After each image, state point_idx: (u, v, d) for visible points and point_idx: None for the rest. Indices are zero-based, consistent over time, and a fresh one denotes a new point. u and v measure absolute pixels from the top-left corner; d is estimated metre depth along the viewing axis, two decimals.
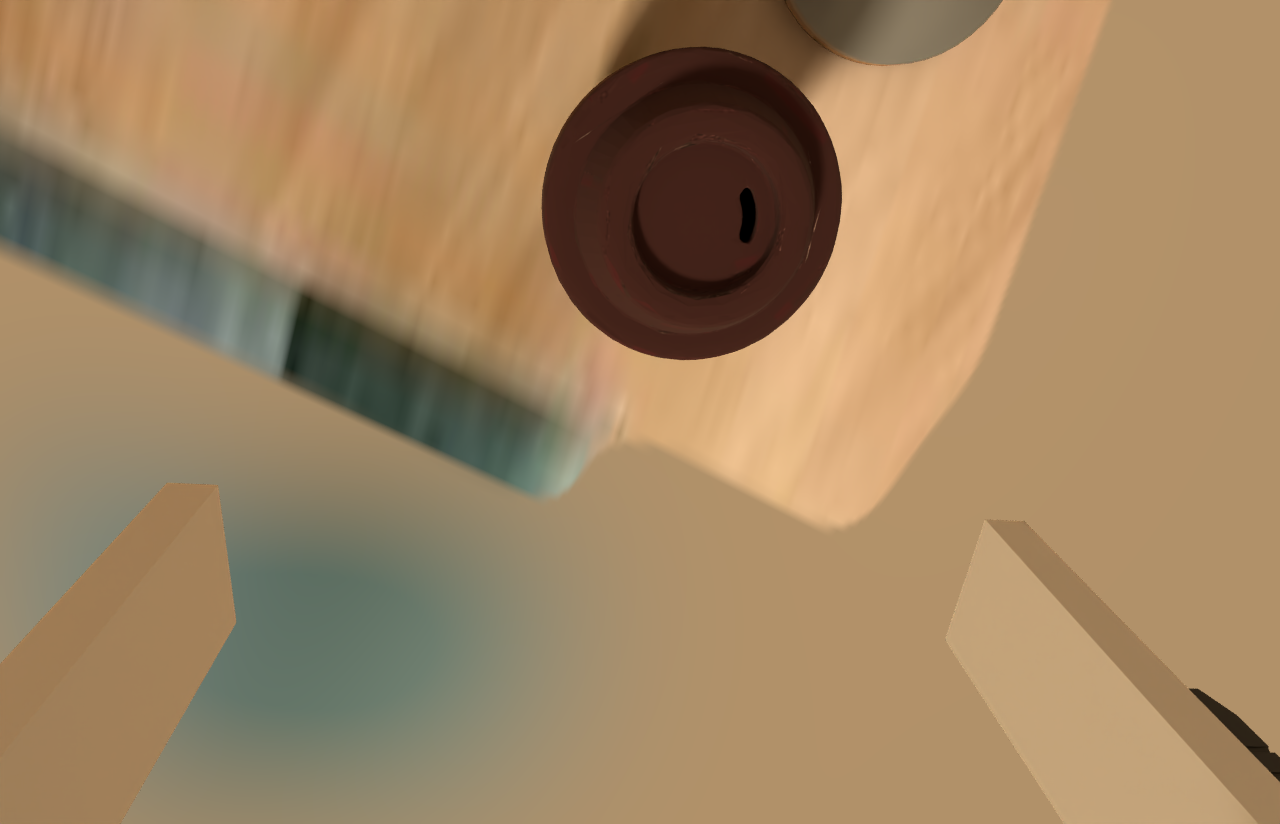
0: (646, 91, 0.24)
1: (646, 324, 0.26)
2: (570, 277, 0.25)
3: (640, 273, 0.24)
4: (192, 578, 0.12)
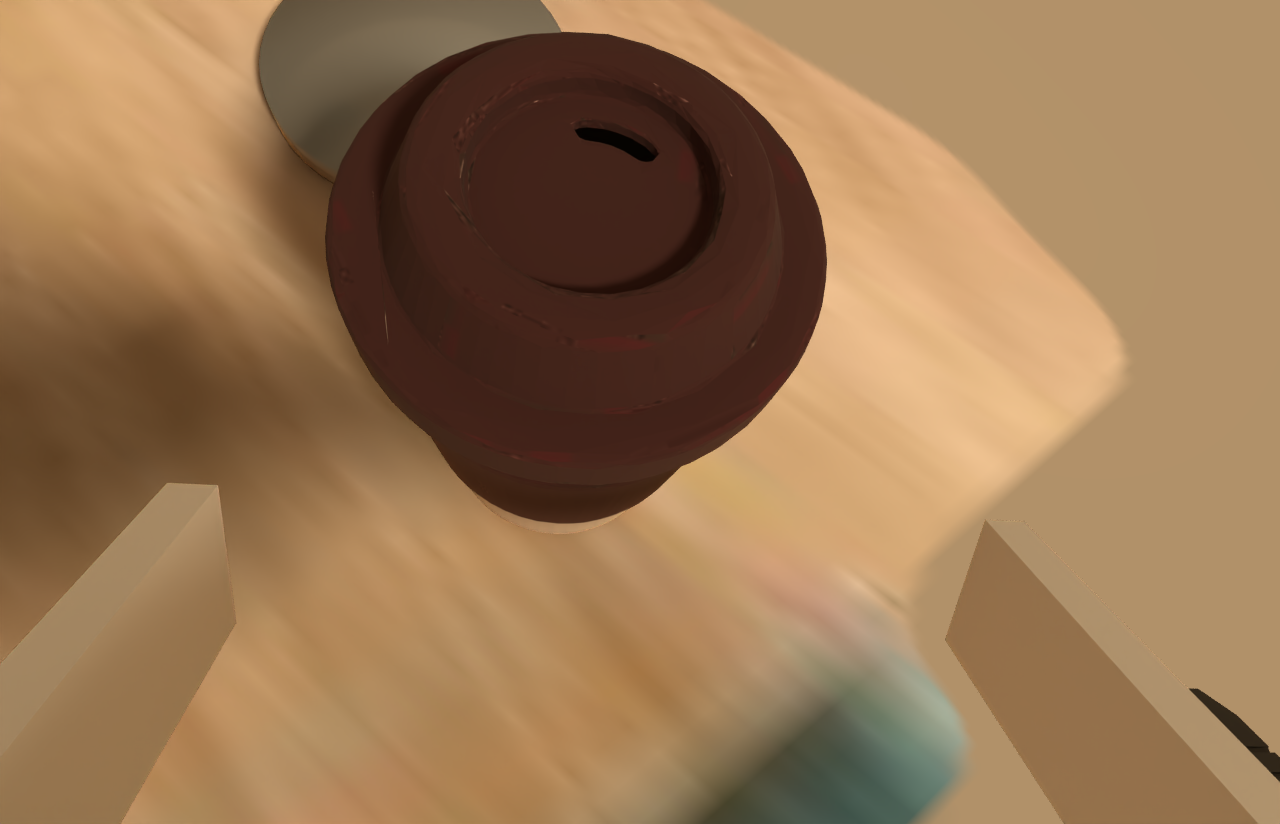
0: (372, 216, 0.15)
1: (728, 360, 0.15)
2: (597, 445, 0.14)
3: (630, 301, 0.13)
4: (192, 578, 0.12)
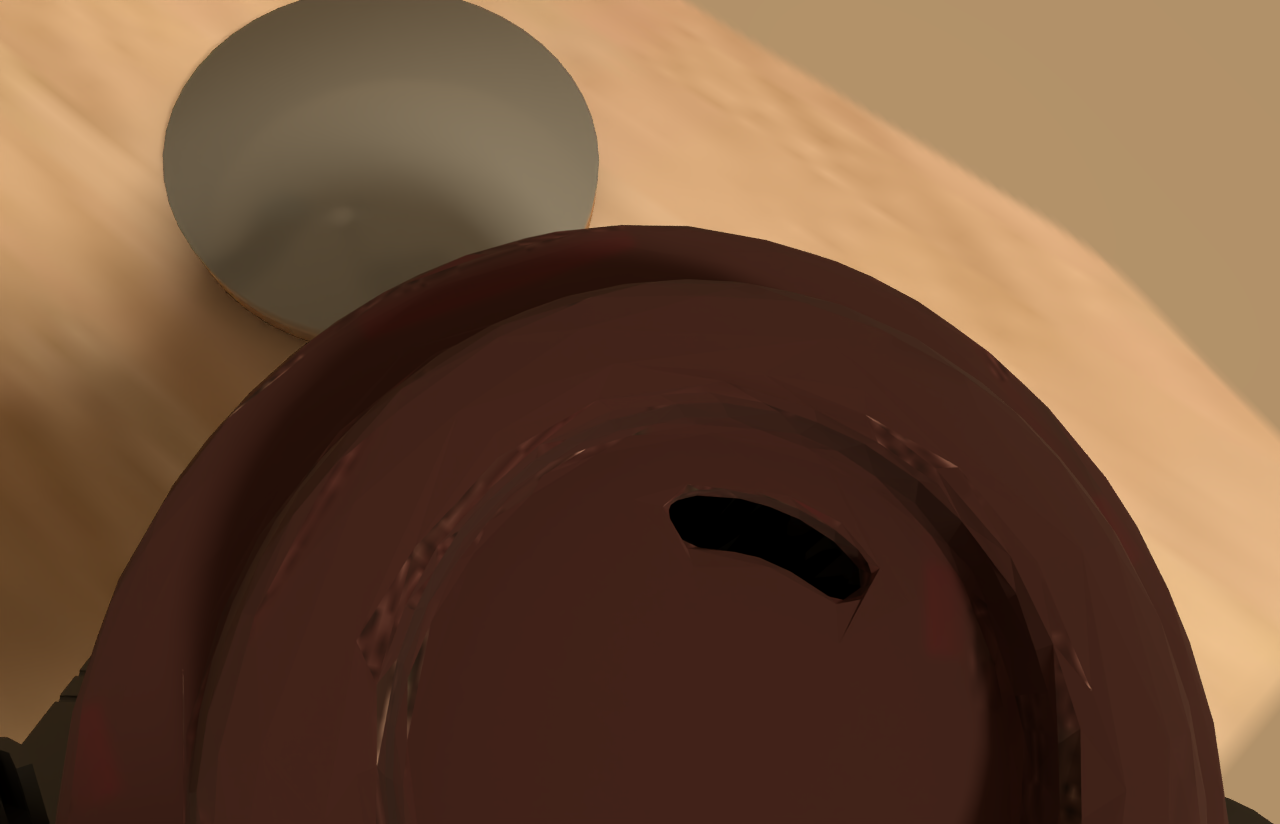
0: (175, 750, 0.06)
1: None
2: None
3: None
4: None
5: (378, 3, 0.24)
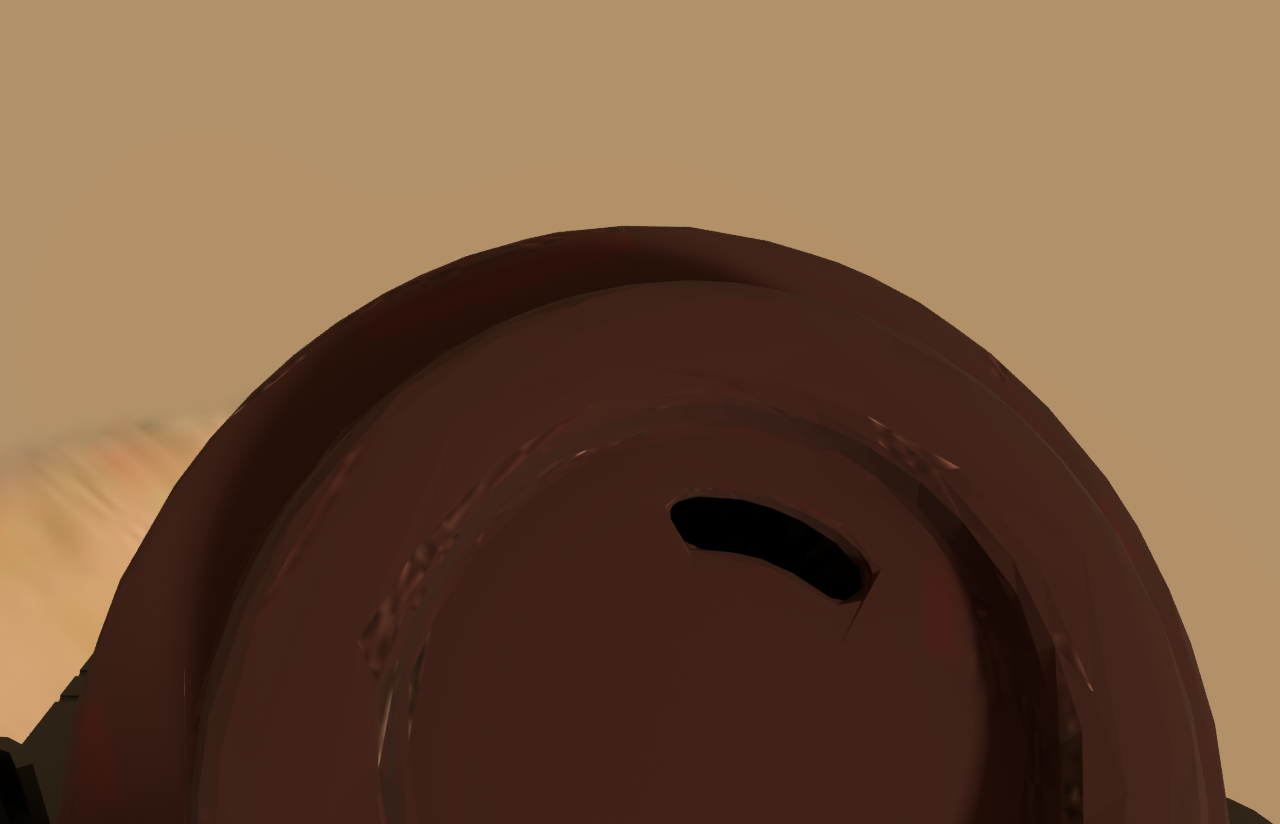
0: (177, 751, 0.06)
1: None
2: None
3: None
4: None
5: None
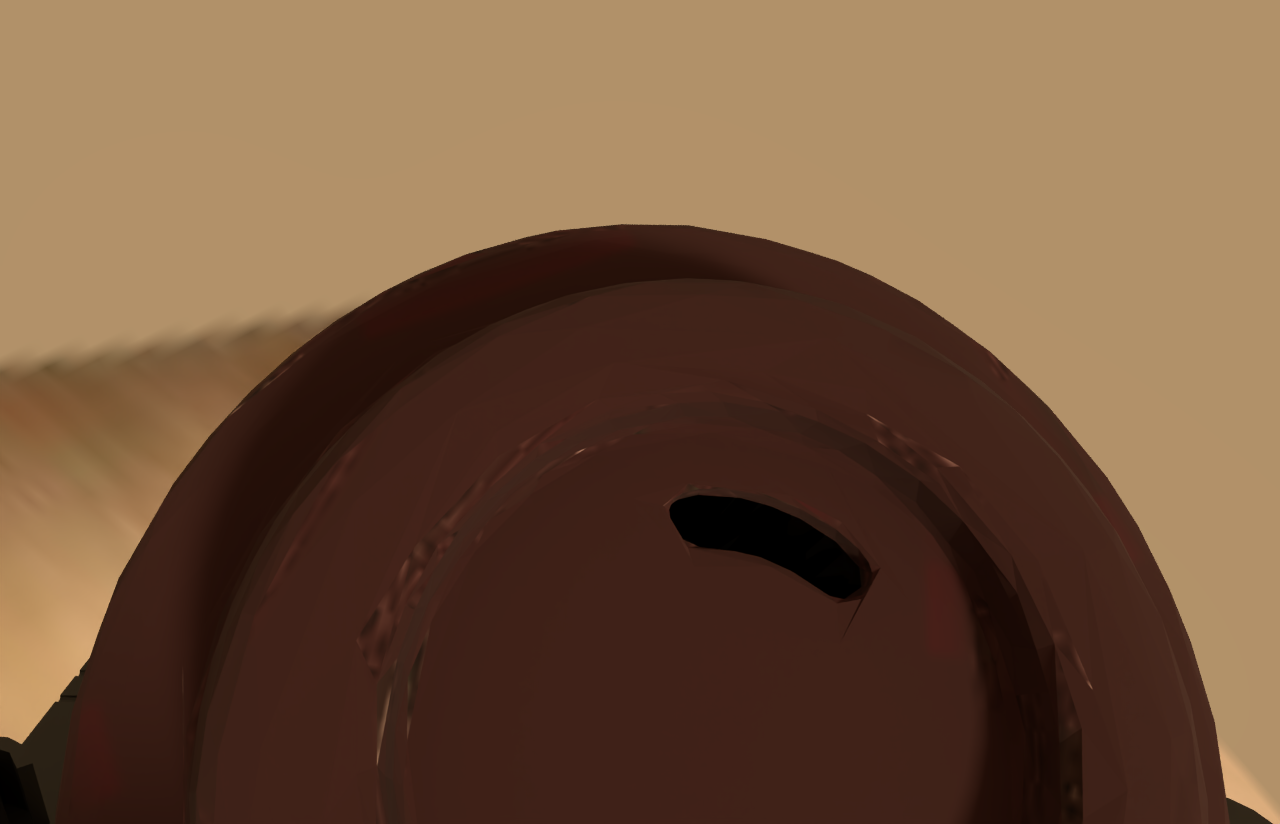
0: (175, 750, 0.06)
1: None
2: None
3: None
4: None
5: None
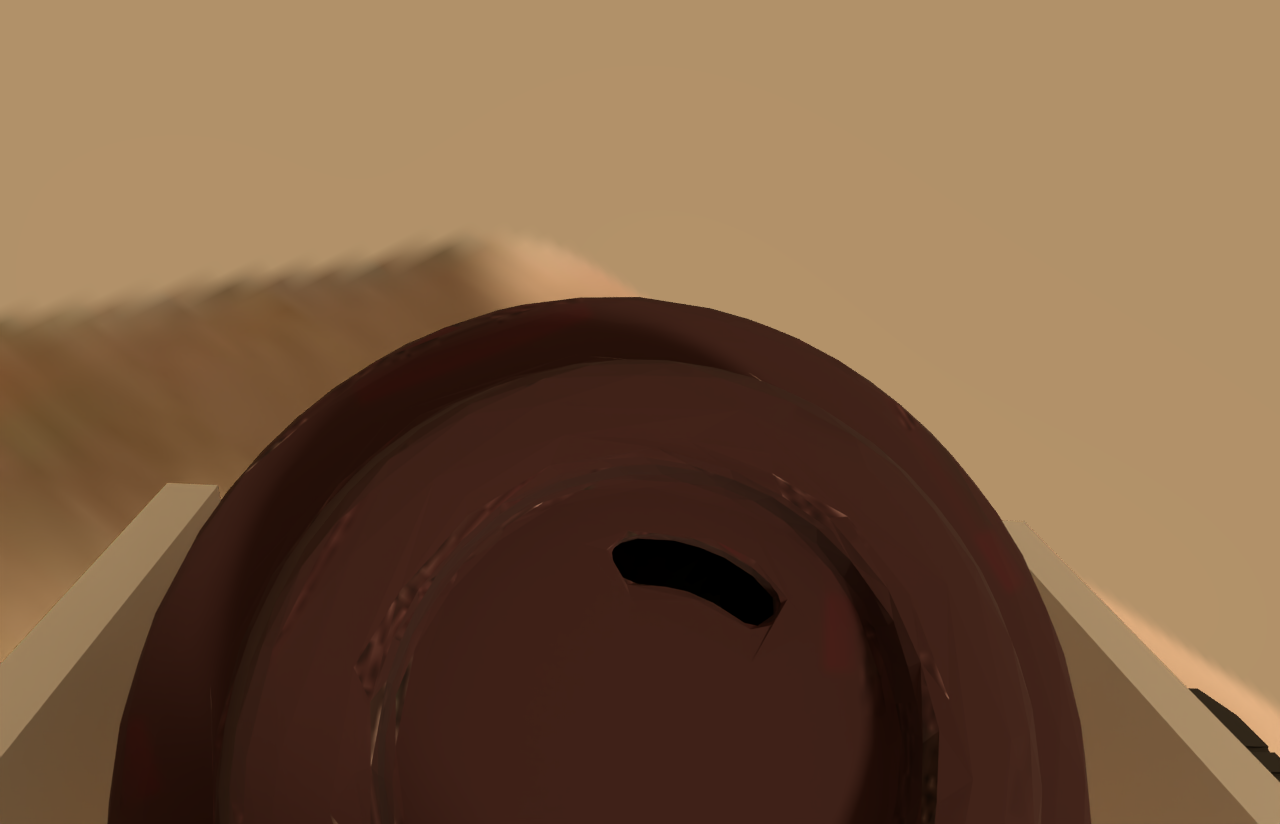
0: (206, 755, 0.07)
1: None
2: None
3: None
4: None
5: None
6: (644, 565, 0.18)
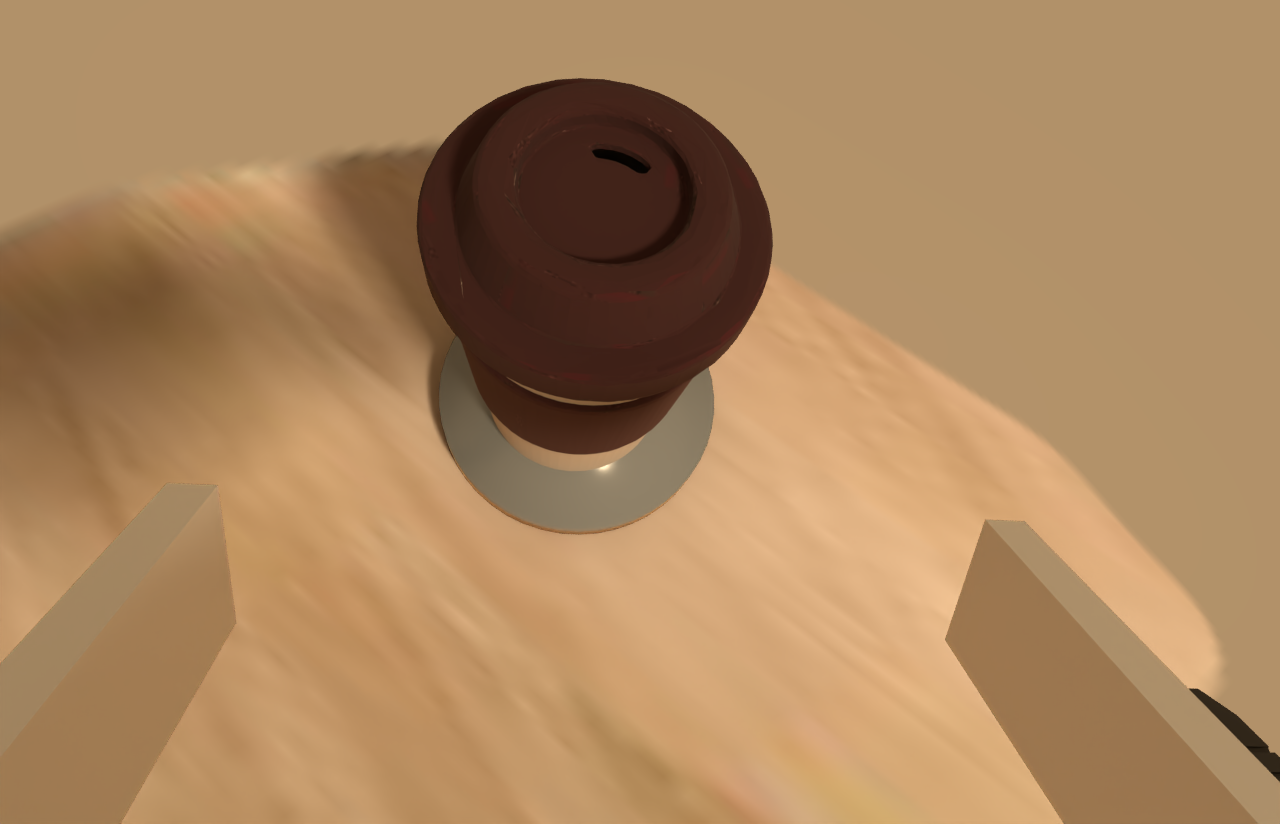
0: (450, 212, 0.21)
1: (699, 312, 0.21)
2: (608, 369, 0.20)
3: (630, 269, 0.19)
4: (192, 578, 0.12)
5: None
6: None
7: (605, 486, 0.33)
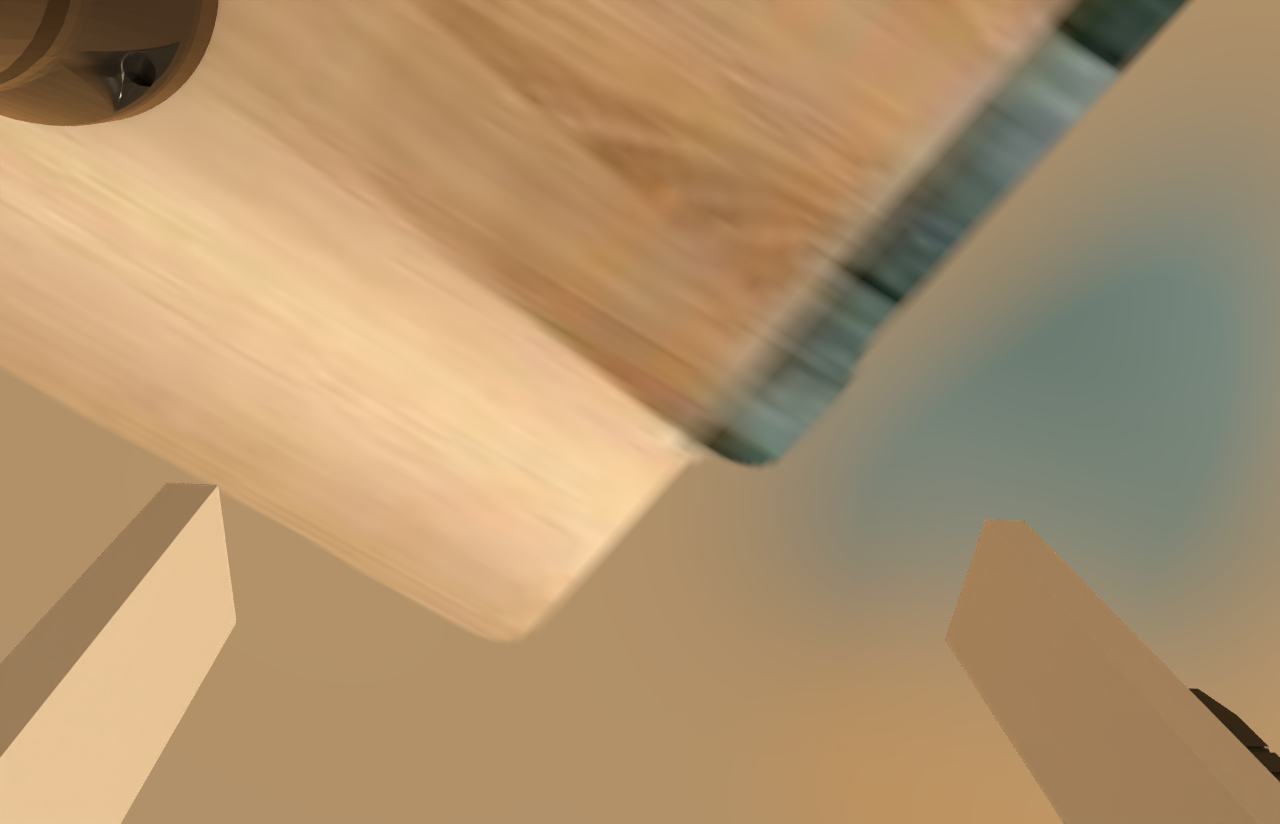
0: None
1: None
2: None
3: None
4: (192, 578, 0.12)
5: None
6: None
7: None
